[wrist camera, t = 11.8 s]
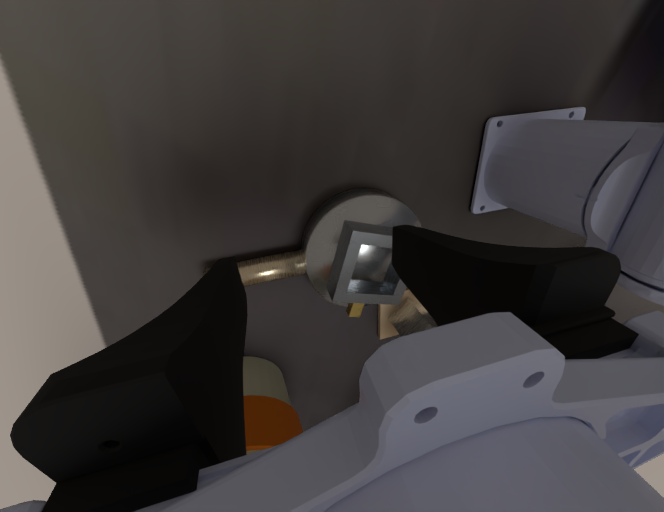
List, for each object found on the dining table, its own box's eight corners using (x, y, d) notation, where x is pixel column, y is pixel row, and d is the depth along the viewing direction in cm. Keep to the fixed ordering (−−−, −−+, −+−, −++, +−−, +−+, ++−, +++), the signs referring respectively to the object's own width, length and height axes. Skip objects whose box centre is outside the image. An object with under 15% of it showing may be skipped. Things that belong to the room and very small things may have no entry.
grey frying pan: (412, 179, 22) (428, 186, 20) (405, 278, 27) (418, 293, 25) (188, 214, 19) (180, 227, 17) (227, 319, 24) (224, 339, 22)
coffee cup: (520, 288, 33) (690, 403, 20) (590, 239, 32) (816, 328, 19) (534, 328, 38) (678, 440, 25) (595, 287, 37) (777, 382, 24)
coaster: (431, 280, 28) (434, 283, 28) (426, 322, 31) (429, 326, 31) (378, 292, 27) (380, 296, 27) (378, 335, 30) (380, 339, 30)
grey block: (430, 311, 30) (475, 361, 24) (412, 330, 30) (451, 384, 24) (400, 292, 27) (441, 344, 21) (381, 313, 28) (415, 369, 22)
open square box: (412, 230, 21) (426, 240, 20) (380, 311, 25) (389, 326, 23) (344, 220, 19) (353, 230, 18) (319, 309, 23) (325, 326, 21)
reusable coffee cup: (165, 349, 24) (68, 618, 11) (304, 337, 28) (348, 533, 15) (181, 432, 30) (128, 675, 17) (295, 414, 33) (322, 603, 21)
